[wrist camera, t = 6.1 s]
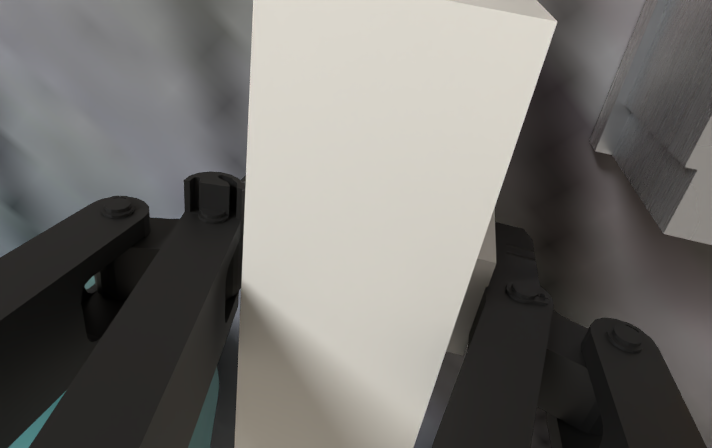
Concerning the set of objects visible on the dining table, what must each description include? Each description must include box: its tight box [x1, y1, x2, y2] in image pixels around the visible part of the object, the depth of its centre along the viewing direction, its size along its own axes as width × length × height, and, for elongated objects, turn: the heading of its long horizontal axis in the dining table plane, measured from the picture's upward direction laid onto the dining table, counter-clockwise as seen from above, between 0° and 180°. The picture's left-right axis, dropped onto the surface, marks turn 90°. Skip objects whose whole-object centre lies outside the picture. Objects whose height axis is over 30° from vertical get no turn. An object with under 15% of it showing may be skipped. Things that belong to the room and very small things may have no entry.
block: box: [234, 0, 557, 448], centre depth 13 cm, size 4×12×9 cm, turn 171°
